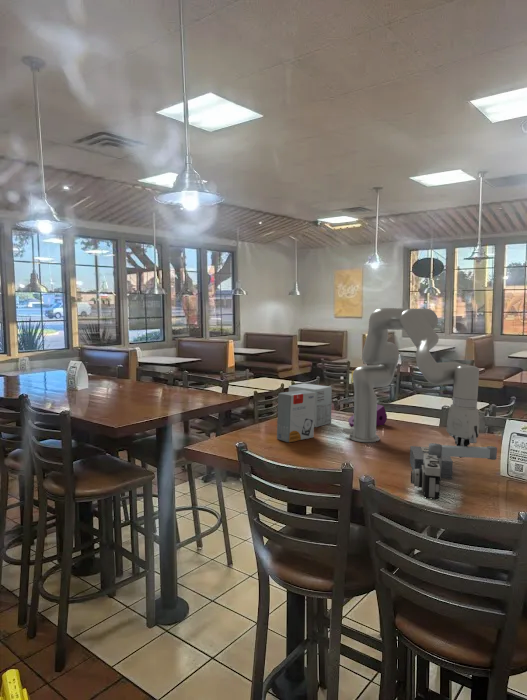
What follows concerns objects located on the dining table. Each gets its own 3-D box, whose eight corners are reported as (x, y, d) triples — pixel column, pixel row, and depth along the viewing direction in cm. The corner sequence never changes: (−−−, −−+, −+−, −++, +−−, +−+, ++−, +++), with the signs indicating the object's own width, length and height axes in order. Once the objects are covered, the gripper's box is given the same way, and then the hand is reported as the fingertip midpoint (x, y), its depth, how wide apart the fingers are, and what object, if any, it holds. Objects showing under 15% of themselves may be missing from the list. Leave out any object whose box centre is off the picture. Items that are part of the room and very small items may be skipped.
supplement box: (332, 423, 244) (333, 386, 242) (316, 427, 234) (317, 389, 232) (303, 417, 255) (304, 382, 253) (287, 421, 245) (287, 385, 243)
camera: (410, 481, 163) (411, 451, 162) (436, 484, 161) (438, 453, 160) (410, 497, 150) (412, 464, 149) (440, 500, 148) (441, 467, 147)
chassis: (415, 479, 165) (416, 456, 164) (409, 462, 184) (410, 441, 183) (453, 482, 163) (454, 459, 162) (443, 464, 181) (444, 443, 181)
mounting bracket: (362, 440, 235) (388, 420, 242) (357, 425, 232) (383, 406, 240) (349, 436, 243) (375, 416, 250) (344, 421, 240) (370, 402, 248)
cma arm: (427, 453, 167) (427, 442, 167) (494, 456, 164) (494, 446, 164) (429, 457, 163) (430, 446, 163) (498, 460, 160) (498, 449, 160)
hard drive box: (288, 443, 206) (289, 395, 205) (276, 439, 212) (276, 392, 211) (314, 437, 217) (315, 391, 215) (301, 433, 222) (302, 389, 221)
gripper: (439, 399, 171) (436, 451, 173) (474, 408, 157) (470, 464, 159) (455, 397, 174) (452, 449, 176) (491, 406, 161) (487, 462, 162)
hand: (461, 456), depth 168 cm, fingers closed
